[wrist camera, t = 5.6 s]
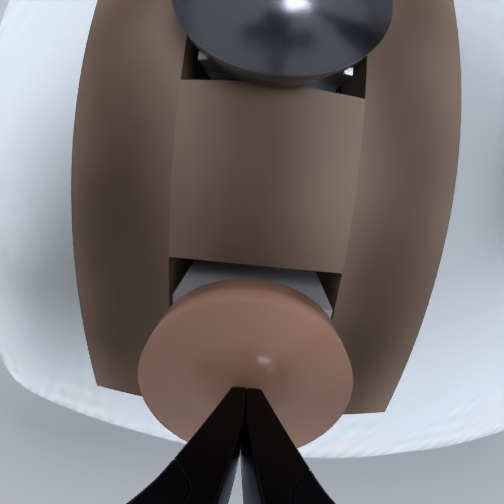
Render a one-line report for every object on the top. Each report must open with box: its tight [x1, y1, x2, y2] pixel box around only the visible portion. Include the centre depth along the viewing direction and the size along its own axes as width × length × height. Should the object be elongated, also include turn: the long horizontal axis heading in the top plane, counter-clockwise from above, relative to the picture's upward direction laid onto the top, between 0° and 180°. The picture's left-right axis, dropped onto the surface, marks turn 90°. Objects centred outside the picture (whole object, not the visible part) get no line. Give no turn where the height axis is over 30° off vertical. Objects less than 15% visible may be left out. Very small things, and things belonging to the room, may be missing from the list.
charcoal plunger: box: [172, 0, 393, 92], centre depth 8 cm, size 6×6×5 cm
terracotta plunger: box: [138, 259, 353, 456], centre depth 11 cm, size 6×6×5 cm
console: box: [71, 0, 461, 414], centre depth 11 cm, size 14×20×4 cm
